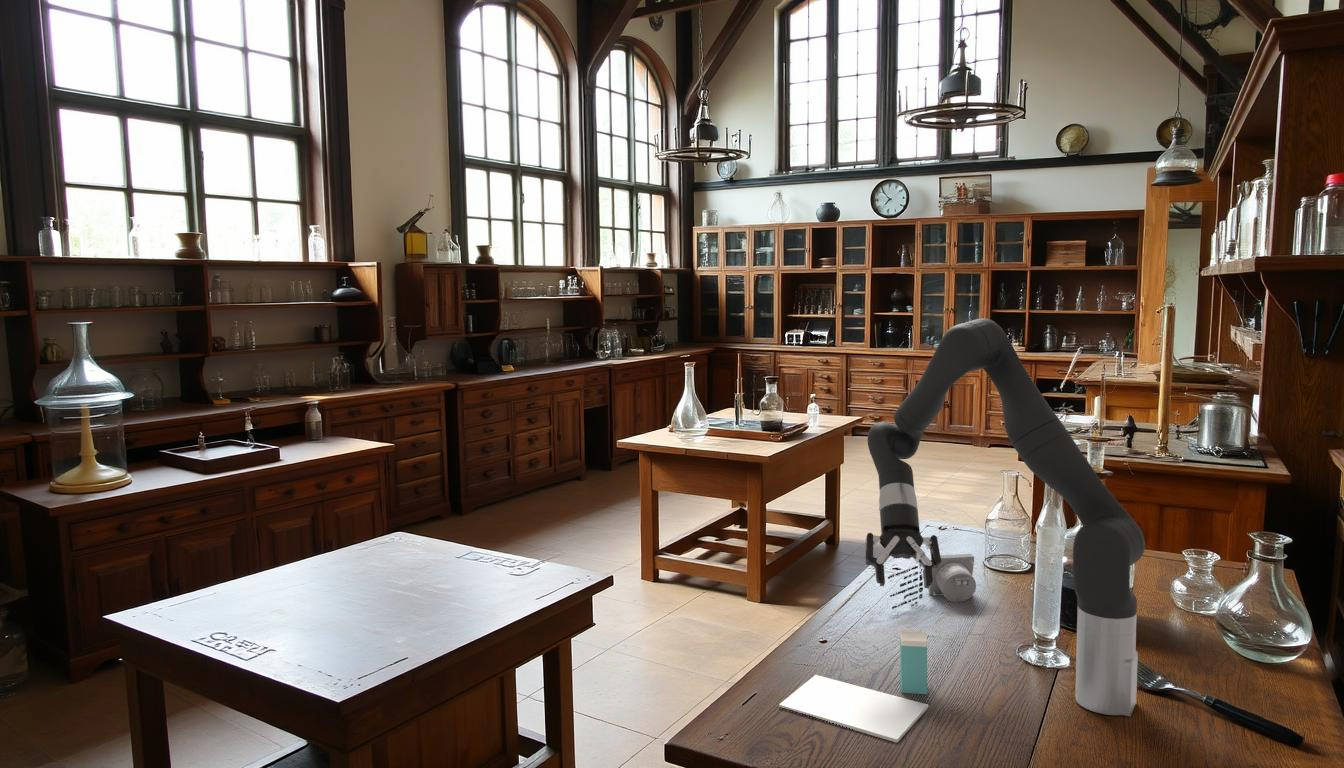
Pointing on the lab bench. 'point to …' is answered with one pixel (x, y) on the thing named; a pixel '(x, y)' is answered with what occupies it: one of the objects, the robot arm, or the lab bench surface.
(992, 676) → the lab bench surface
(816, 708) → the white board
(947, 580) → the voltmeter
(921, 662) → the teal block
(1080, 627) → the robot arm
